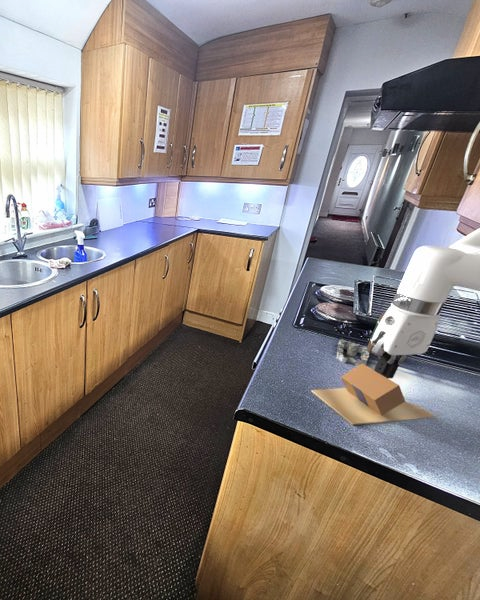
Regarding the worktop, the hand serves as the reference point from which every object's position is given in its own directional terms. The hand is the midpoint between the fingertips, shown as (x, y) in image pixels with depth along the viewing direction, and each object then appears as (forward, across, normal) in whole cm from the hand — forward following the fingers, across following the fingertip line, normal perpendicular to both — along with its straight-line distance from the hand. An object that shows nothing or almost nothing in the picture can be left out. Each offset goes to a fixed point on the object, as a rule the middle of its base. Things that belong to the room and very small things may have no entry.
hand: (382, 374), depth 77 cm
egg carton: (+8, +13, +19) cm, 24 cm away
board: (+8, 0, 0) cm, 8 cm away
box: (+2, +1, 0) cm, 2 cm away
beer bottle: (+8, +24, +19) cm, 32 cm away
